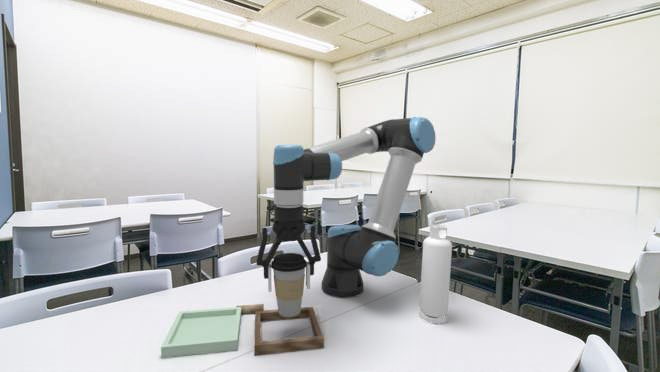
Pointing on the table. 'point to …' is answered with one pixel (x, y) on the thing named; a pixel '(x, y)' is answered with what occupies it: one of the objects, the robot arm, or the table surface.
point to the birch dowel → (251, 308)
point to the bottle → (435, 275)
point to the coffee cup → (289, 282)
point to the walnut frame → (287, 344)
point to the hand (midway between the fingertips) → (289, 288)
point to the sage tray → (203, 332)
